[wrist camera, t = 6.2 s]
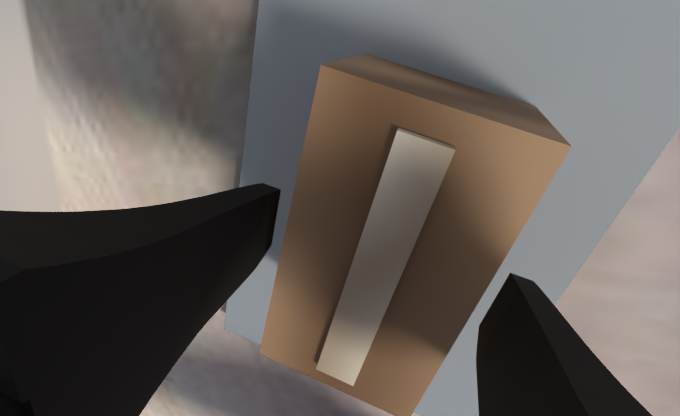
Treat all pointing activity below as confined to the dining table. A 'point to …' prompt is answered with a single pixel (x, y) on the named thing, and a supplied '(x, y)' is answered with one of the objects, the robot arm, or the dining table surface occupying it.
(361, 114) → the taped cardboard box
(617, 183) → the rubber mat
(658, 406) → the dining table surface
